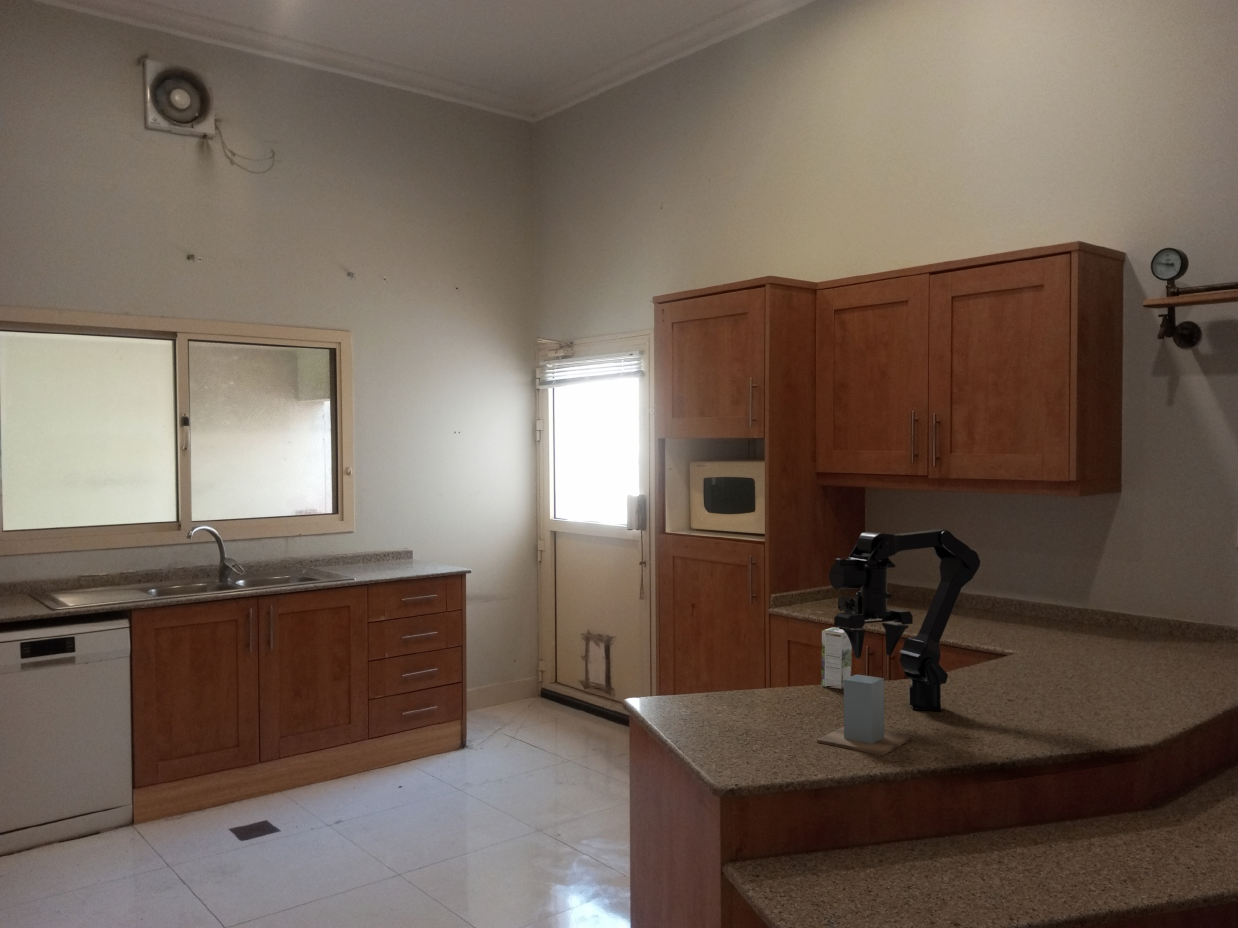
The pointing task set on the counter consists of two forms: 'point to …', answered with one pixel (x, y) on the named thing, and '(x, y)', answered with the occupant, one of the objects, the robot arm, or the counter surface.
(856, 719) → the tall slate pillar
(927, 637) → the robot arm
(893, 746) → the post base
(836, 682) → the syrup box
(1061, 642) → the counter surface
